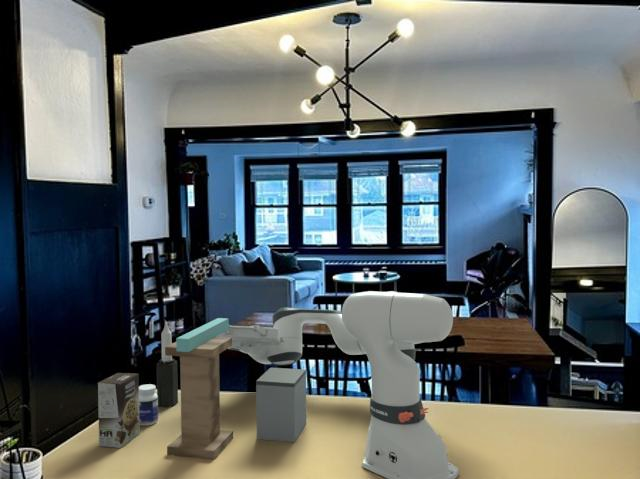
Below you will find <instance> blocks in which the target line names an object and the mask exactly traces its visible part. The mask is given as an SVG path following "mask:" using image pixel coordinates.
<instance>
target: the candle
mask: <svg viewBox="0 0 640 479" xmlns="http://www.w3.org/2000/svg"><path fill="white" fill-rule="evenodd" d="M160 337H161V359H159V360H158V362H157V363H156V394H157V396H158V408H160V407H163V408H173V407H174V406H176V405H177V404H178V403H179V391H178V390H179V388H178V387H179V384H178V383H179V380H178V378H179V377H178V360H176V359H175V358H173V356H166V355H165V347H166V346H168V345H170V344H172V343H173V342H172V331H171V330H170V327H169V326H168V322H167V321H165V322H164V328H163V330H162V331H161V336H160Z"/></svg>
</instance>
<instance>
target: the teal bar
mask: <svg viewBox="0 0 640 479" xmlns="http://www.w3.org/2000/svg"><path fill="white" fill-rule="evenodd" d="M229 325H230V323H229V318H227V317H226V318H225V317H224V318H223V317H218V318H215V319H213V320H211V321H209V322H207V323H205V324H203V325H201V326H199V327H196V328H195V329H192V330H191V331H189V332H186V333H185V334H182V335H181V336H178V337H176V339H175V340H176V341H175V342H176V346H177V351H180V352H190V351H191V350H193V349H195V348H197V347H198V346H200V345H202V344H204V343H206V342H207V341H209V340H211V339H213V338H214V337H216V336H218V335H220V334H222V333H223V332H225V331H227V330H229Z"/></svg>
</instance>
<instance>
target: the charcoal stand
mask: <svg viewBox="0 0 640 479" xmlns="http://www.w3.org/2000/svg"><path fill="white" fill-rule="evenodd" d="M255 384H256V386H255V390H256V391H255V392H256V393H255V395H256V398H255V399H256V400H255V401H256V405H255V406H256V407H255V408H256V440H266V441H275V442H276V441H277V442H289V443H296V441H297V439H298V438H299V437H300V435H301V433H302V431H303V429H305V427H306V425H307V370H306V369H300V368H299V369H298V368H283V367H282V368H281V367H270V368H268V369H267V370H266V371H265V372H264V373H263V374H261V375H260V377H258V379H257V380H256V381H255Z"/></svg>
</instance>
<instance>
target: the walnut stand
mask: <svg viewBox="0 0 640 479" xmlns="http://www.w3.org/2000/svg"><path fill="white" fill-rule="evenodd" d="M231 346H232V338H226V337H214V338H213V339H211V340H209V341H207V342H206V343H204V344H202V345H200V346H198V347H197V348H195V349H193V350H191V351H190V352H180V351H177V346H176V341H175V342H172V344H170V345H168V346H166V347H165V355H166V356H172V357H179V368H180V369H179V370H180V373H179V374H180V376H179V378H180V380H179V381H180V414H181V415H180V421H181V422H180V423H181V424H180V426H181V428H180V429H181V433H180V435H179V436H178V437H177V438H175V439H174V440H173V441H172V442H171V443H169V444H168V445H167V446H166V449H167V450H166V452H167V453H166V454H167V455H168V456H177V457H189V458H197V459H208V460H215V459H216V458H217V457H218V456H219V454H221V453H222V451H224V449H225V448H226V447H227V446H228V445H229V444H230V443H231V441H232V440H233V439H234V430H227V429H221V406H220V404H221V398H220V354H221V353H223V352H224V351H226V350H227V349H228V348H229V347H231ZM228 350H229V349H228Z"/></svg>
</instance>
